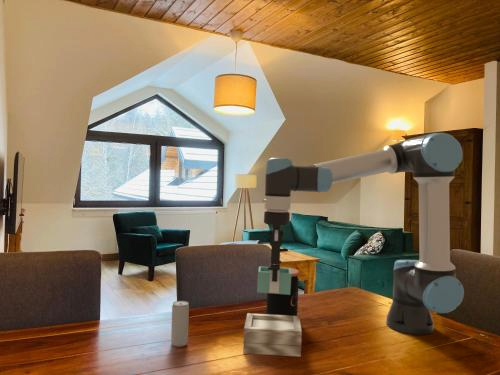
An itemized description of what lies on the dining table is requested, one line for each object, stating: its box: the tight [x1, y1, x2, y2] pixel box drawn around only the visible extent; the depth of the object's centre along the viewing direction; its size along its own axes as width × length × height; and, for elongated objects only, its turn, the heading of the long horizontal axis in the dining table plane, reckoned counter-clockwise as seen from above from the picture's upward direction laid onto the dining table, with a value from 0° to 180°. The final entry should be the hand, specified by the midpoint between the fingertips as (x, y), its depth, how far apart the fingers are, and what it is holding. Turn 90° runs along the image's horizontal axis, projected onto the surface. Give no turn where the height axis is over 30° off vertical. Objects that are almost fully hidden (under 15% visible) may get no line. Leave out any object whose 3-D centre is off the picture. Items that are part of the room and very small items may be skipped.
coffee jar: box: [265, 266, 300, 316], centre depth 140 cm, size 11×11×18 cm
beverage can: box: [170, 300, 190, 348], centre depth 119 cm, size 5×5×12 cm
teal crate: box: [256, 266, 292, 295], centre depth 120 cm, size 10×7×6 cm
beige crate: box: [242, 312, 303, 358], centre depth 120 cm, size 16×13×7 cm
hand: (274, 288), depth 120 cm, fingers closed on teal crate, 7 cm apart
